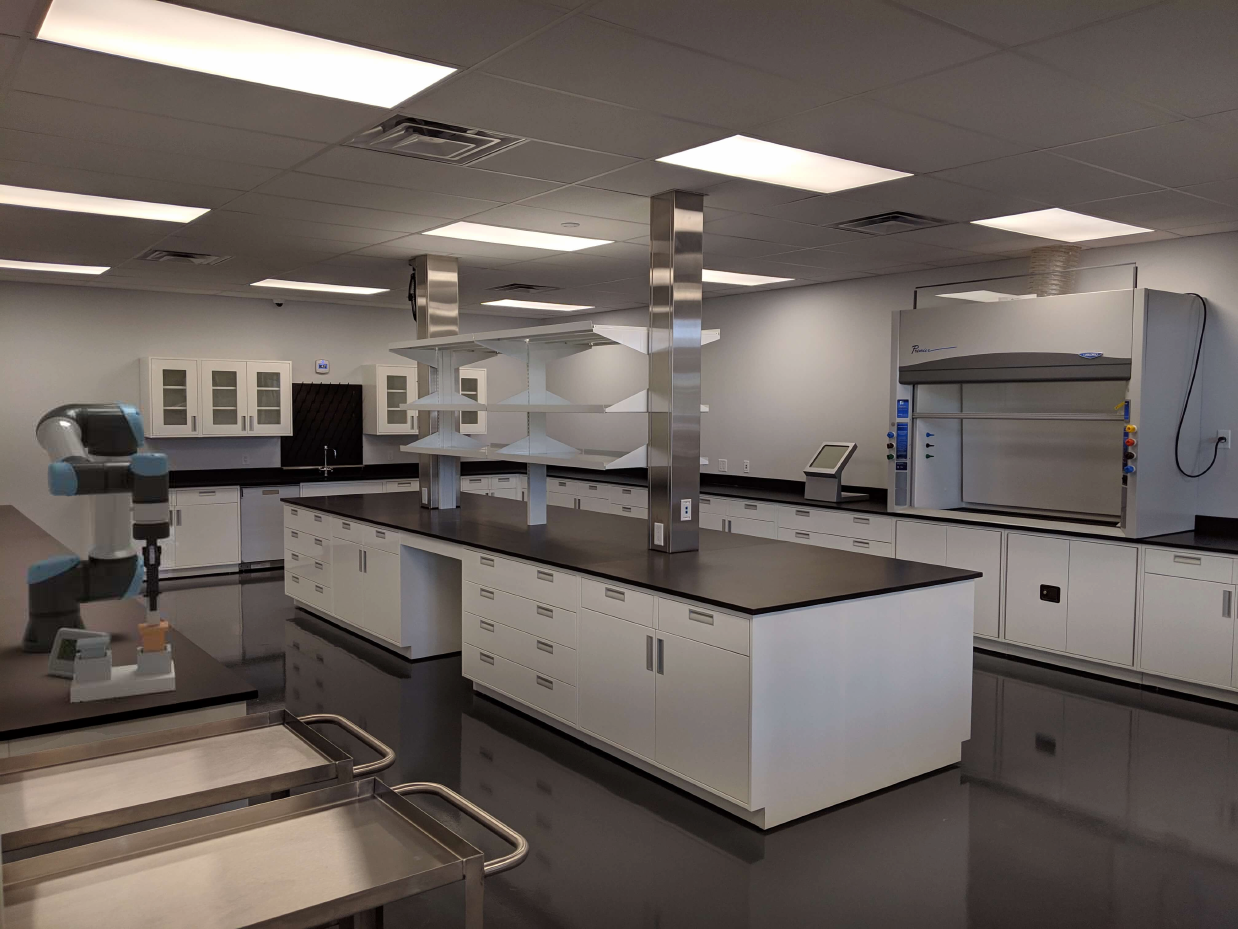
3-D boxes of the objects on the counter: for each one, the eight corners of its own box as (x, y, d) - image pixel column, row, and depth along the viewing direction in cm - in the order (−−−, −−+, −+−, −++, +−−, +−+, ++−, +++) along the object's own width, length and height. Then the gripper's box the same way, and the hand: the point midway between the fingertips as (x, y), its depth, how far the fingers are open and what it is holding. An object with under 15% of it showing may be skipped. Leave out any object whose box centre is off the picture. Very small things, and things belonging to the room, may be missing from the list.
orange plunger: (139, 658, 206) (138, 624, 206) (168, 655, 209) (167, 621, 208) (139, 664, 201) (138, 629, 200) (169, 661, 203) (168, 626, 203)
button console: (75, 684, 204) (74, 649, 204) (173, 673, 214) (172, 639, 213) (70, 703, 191) (69, 666, 191) (175, 690, 200) (174, 654, 200)
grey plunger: (78, 674, 200) (78, 639, 200) (109, 671, 203) (108, 636, 203) (77, 681, 195) (76, 645, 195) (108, 678, 198) (107, 642, 198)
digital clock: (43, 675, 212) (41, 630, 211) (82, 666, 219) (81, 623, 219) (80, 686, 203) (78, 639, 203) (119, 676, 211) (118, 631, 210)
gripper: (132, 519, 207) (135, 620, 208) (131, 525, 196) (134, 632, 197) (168, 517, 211) (171, 617, 212) (170, 523, 199) (172, 628, 200)
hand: (153, 624), depth 204 cm, fingers closed
